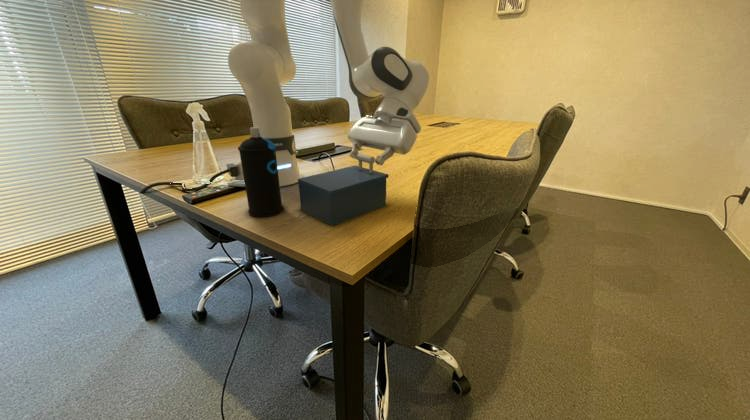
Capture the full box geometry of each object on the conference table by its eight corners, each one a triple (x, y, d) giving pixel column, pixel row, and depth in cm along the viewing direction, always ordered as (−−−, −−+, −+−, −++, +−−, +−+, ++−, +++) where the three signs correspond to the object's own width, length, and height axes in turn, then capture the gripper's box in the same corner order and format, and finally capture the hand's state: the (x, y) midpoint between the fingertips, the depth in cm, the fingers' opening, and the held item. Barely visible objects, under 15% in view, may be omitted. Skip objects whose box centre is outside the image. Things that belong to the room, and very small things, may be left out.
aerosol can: (246, 219, 70) (231, 131, 62) (249, 206, 77) (236, 125, 70) (283, 215, 72) (273, 129, 65) (283, 203, 80) (274, 124, 72)
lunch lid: (355, 168, 85) (355, 150, 83) (388, 177, 76) (389, 158, 74) (298, 182, 72) (296, 161, 70) (330, 195, 64) (329, 172, 62)
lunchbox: (353, 193, 87) (353, 168, 84) (385, 205, 79) (386, 178, 76) (300, 210, 75) (298, 182, 72) (332, 226, 67) (330, 195, 64)
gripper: (358, 107, 85) (332, 147, 82) (417, 112, 71) (388, 159, 69) (369, 122, 89) (345, 160, 87) (426, 129, 76) (400, 174, 73)
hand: (364, 160), depth 78 cm, fingers open, 8 cm apart
